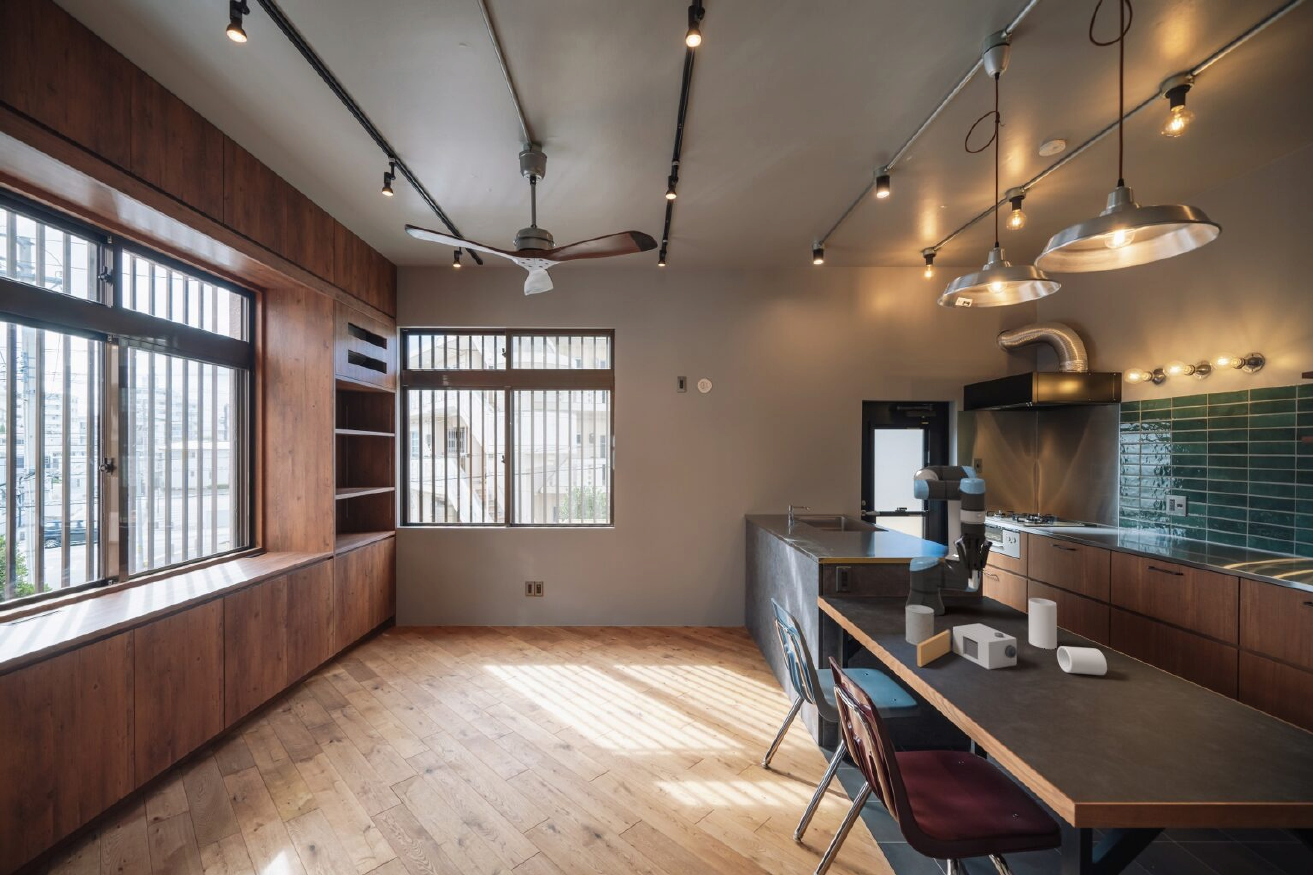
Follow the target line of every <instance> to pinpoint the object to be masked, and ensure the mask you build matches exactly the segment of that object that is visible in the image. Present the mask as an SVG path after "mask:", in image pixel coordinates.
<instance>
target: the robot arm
mask: <svg viewBox="0 0 1313 875" xmlns="http://www.w3.org/2000/svg"><path fill="white" fill-rule="evenodd" d="M986 491H987V488H986V481H985V480H984V479H983V478H979V477H978V476H977V472H976V469H974V467H972V466H967V465H929V466H926V467H923V468H921V469H919V470H918V471H916V472H915V474H914V476H913V497H914V499H917V500H922V501H926V500H930V501H947V514H948V515H947V516H948V518H947V519H948V520H947V521H948V523H947V524H948V528H947V529H948V554H947V555H946V556H945V557H944V561H942V560H940V558H939V557H936V556H928V555H927V556H925V555H924V556H917V557H913V558H912V559H911V560H910V563H909V565H910V566H909V572H910V573H909V574H910V576H909V580H910V582H909V588H910V590H909V594H908V597H907V600H906V601H905V607H906V606H907V605H922V606H926V607H929V608H931V609H933V610H934V617H935V616H936V617H937V616H942V615H944V614H945V612H946V611H945V605H944V604H943V600H942V596H941V594H940V593H941V591H940V590H941V589H943V590H952V591H962V592H964V593H966V592H970V593H973V592H977V591H978V589H979V587H980V582H981V575H982V574H981V573H982V572H981V571H983V569H986V566H987V563H988V562H987V561H988V557H989V554H990V549H991V548H992V546H993V544H994V542H993V541H991V540H988V539H987V536H986V535H985V534H986V532H987V529H986V524H985V522H986Z"/></svg>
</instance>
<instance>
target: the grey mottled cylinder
mask: <svg viewBox="0 0 1313 875" xmlns="http://www.w3.org/2000/svg"><path fill="white" fill-rule="evenodd" d="M934 619H935V616H934V610H933V609H931V608H929V607H926V606H922V605H907V606H906V605H905V640H906V642H907V643H909V644H911V645H912V646H913V645H914V646H917V645H918V644H920V643H922V642H924V641H926V640H928V639H930V638H932V637H934V636H935V632H934V631H935V629H934V628H935V623H934V622H935V620H934Z"/></svg>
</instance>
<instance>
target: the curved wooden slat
mask: <svg viewBox="0 0 1313 875" xmlns="http://www.w3.org/2000/svg"><path fill="white" fill-rule="evenodd" d="M951 640H952V639H951V629H950V628H949V629H945V630H944V631H942V632H940V633H939V634H936V635H934V637H932V638H930V639H928V640H926V641H924V642H922V643H920V644H918V645H916V662H917V666H918V667H924V666H926V665H927V664H929V663H931V662H933V661H934V660H936V659H938V658H940V657H942V656H944V655H945V654H947V653H949V652H952V651H951V650H952V648H951V647H952V645H951V642H952V641H951Z"/></svg>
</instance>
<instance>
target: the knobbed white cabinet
mask: <svg viewBox="0 0 1313 875" xmlns="http://www.w3.org/2000/svg"><path fill="white" fill-rule="evenodd" d="M952 650H953V651H952V652H953V653H955V654H956V655H959V656H961V657H963V658H965V659H967V660H968V661H971V662H973V663H975V664H977V665H978V666H981V667H983V668H985V669H987V670H993V669H1000V668H1005V667H1012V666H1017V637H1014V636H1012V635H1009V634H1007V633H1004V632H1002V631H1000V630H997V629H994V628H993V627H989V626H987V625H984V624H982V623H979V622H978V623H972V624H965V625H964V624H963V625H957V626H953V627H952Z"/></svg>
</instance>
